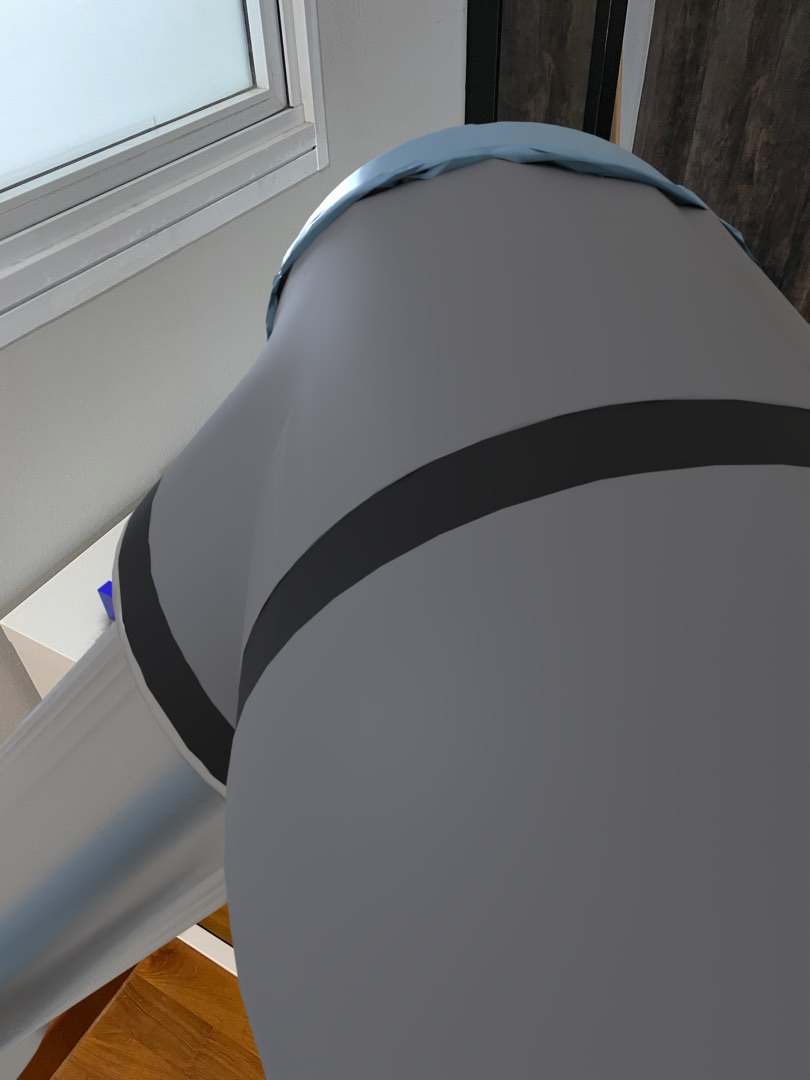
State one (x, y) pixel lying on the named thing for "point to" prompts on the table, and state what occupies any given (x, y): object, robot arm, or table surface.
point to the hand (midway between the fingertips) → (508, 693)
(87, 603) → the table surface
